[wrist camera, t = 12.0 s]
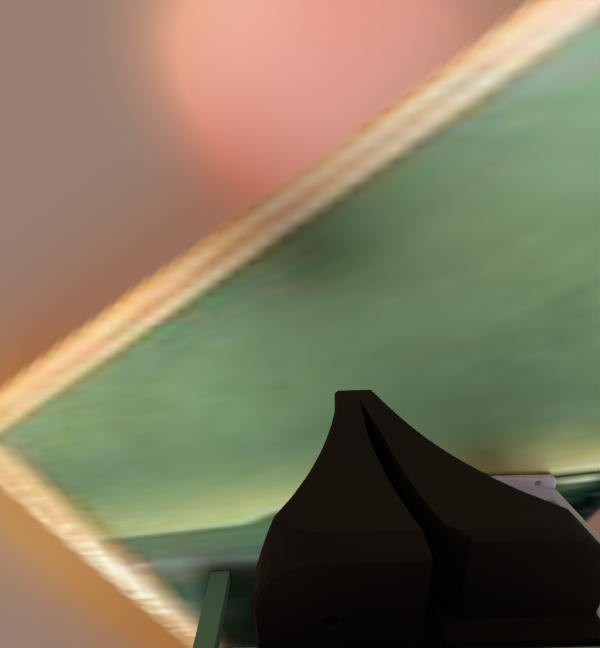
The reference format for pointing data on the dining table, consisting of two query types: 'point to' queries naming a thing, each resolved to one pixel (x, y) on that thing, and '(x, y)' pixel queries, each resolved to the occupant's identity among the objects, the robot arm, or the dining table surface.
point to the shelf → (214, 611)
